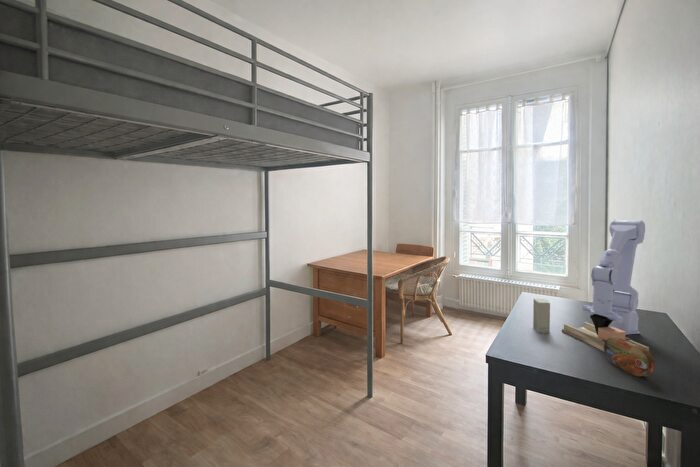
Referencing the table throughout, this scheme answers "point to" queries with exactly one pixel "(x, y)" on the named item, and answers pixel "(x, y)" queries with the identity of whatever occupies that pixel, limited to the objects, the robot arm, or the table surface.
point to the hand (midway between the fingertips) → (600, 335)
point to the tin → (629, 357)
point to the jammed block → (611, 333)
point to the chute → (591, 336)
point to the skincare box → (541, 315)
